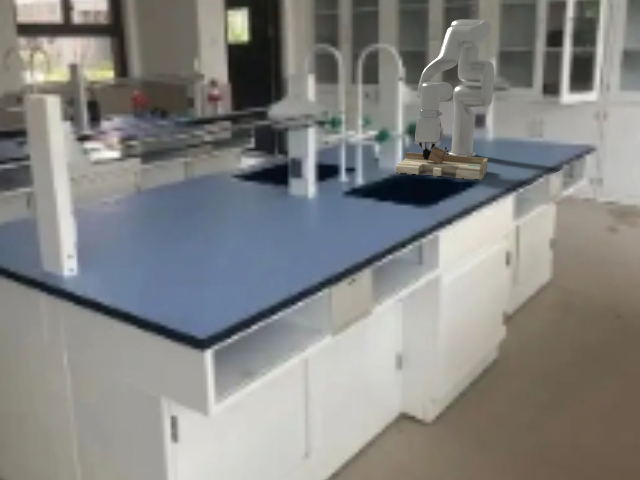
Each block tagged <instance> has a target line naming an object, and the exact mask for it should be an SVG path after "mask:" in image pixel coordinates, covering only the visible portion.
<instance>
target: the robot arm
mask: <svg viewBox="0 0 640 480" xmlns="http://www.w3.org/2000/svg"><path fill="white" fill-rule="evenodd" d="M491 32H492V25H491V23H490V22H489V20H486V19H465V18H464V19H456V20H453V21H452V22H451V24H450V27H448V28H447V30H446V32H445V34H444V38H443V41H442V44H441V46H440V47H441V48H440V51H439V52H438V53H439V54H438V57H436V58H435V59H434V60H433V61H431V63H429V64H428V65H427V66H426V67H425V68H424V69H423V72H422V73H421V76H420V79H419V82H418V84H417V85H418V86H417V95H418V97H419V98H420V107H419V116H418V117H417V120H416V126H415V133H414V144H415V145H417V146H419V147H420V148H421V149H422V153H423V157H424V160H425V159H426V160H428V158H429V156H430V153H431V151H432V148H434V147H439V146H441V144H442V143H441V139H442V121H441V117H440V116H443V112H442V111H440V101H441V102H445V101H448V100H449V99H451V98H452V100H453V122H452V138H451V149H450V150H449V151H450V152H449V154H450V155H451V154H452V153H453V154H452V156H456V155H457V154H458V156H462V155H463V156H466V157H467V155H468V156H469V157H472V155H473V157H476V154H477V153H476V152H475V151H473V149H474V148H473V146H474V136H475V135H474V133H475V124H476V123H475V121H476V116H475V113H474V110H473V109H472V108H481V109H483V108H484V109H486V108H490V106H491V104H492V102H493V97H494V84H495V83H494V82H495V66H494V64H493V62H492V61H489V60H483V59H482V60H480V59H479V49H480V48H479V46H480V45H481V44H483V43H484V42H485V41H487V40H488V38H490V36H491ZM456 66H457V78H458V79H459V81H462V82H466V83H480V85H475V84H460V85H457V86H455V88H454V87H453V86H452V84H451V83H449V82H446V81H439V80H438V81H436V80H432V79H433V78H434V77H435V76H436V75H438V74H440V73H441V72H445V71H447V70H450V69H452V68H454V67H456ZM427 143H428V147H427Z"/></svg>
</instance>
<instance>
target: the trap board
mask: <svg viewBox="0 0 640 480" xmlns="http://www.w3.org/2000/svg"><path fill="white" fill-rule="evenodd" d="M404 156H405V158H404V159H403V160H402V161H401V162H399V163H397V164H396V165H395V173H396V172H398V173H397V174H400V173H407V174H406V175H412V174H416V175H415V176H425V175H433V176H432V177H437V176H443V177H442V178H449V177H453V178H452V179H462V178H464V179H465V180H474V179H479V180H478V181H482V180H483V178H484V177H485V176H486V174H487V172H486V171H488V160H489V159H488V157H477V156H473V157H466V156H452V155H445V157H444V159H443V162H442V163H440V164H437V163H435V162H433V161H430V160H426V159H425V160H424V157H423V152H422V153H419V152H408V151H407V152H405V155H404ZM483 176H484V177H483Z"/></svg>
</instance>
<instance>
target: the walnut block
mask: <svg viewBox="0 0 640 480" xmlns="http://www.w3.org/2000/svg"><path fill="white" fill-rule="evenodd" d="M445 154H447V150H446V151H445V149H444V148H441V147H439V146H434V147H433V148H432V149H431V153H430V156H429V158H428V160H430V161H433V162H435V163H437V164H440V163H442V162H443V159H444V157H445Z"/></svg>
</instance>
